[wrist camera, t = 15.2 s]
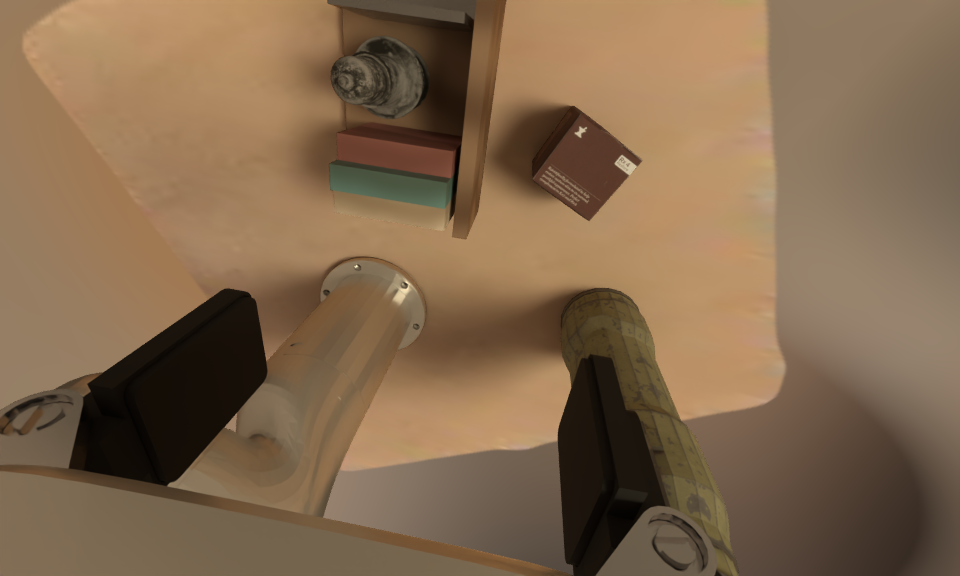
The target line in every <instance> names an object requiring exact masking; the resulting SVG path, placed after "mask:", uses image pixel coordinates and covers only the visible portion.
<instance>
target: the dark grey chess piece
mask: <svg viewBox="0 0 960 576" xmlns="http://www.w3.org/2000/svg"><path fill="white" fill-rule="evenodd" d="M331 82H332V86H333V88H334V90H335V92H336V93H337V95H338V96H339V97H340V98H341V99H342V100H344V101H345V102H347V103H349V104H353V105H362V106H364V107H365V108H366V109H367V110H368V111H369V112H371V113H372V114H374V115H376V116H377V117H381V118H384V119H397V118H401V117H404V116H405V115H407V114H408V113H410V112H411V111H412V110H413V109H415V108H416V107H418V106H419V105H420V104H421V103H422V102H423V101H424V99H425V97H426V95H427V93H428V89H429V83H430V82H429V72H428V69H427V66H426V63H425V62H424V60H423V58H422V57H421V55H420V54H419V53H418V52H417V51H416V50H414V49H413V48H411V47H410V46H408V45H406V44H404V43H403V42H401V41H399V40H398V39H396V38H392V37H389V36H375V37H373V38H370V39H368V40H366V41H365V42H364V43H363V44H361V45H360V46H359V48H358V49H357V51H356V52H355V54H353V55H352V56H345V57H342V58H340V59H339V60H337V61H336V62H335V64H334V65H333V67H332V70H331Z"/></svg>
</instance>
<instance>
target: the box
mask: <svg viewBox="0 0 960 576" xmlns="http://www.w3.org/2000/svg"><path fill="white" fill-rule="evenodd" d="M641 162H642V159H641V158H639V157H638V156H637V155H636V154H634V153H633V152H632V151H631V150H629V149H628V148H627V147H626V146H624V145H623V144H622V143H621V142H620V141H618V140H617V139H616V138H615V137H614V136H612V135H611V134H610V133H609V132H608V131H606V130H605V129H604V128H603V127H602V126H600V125H599V124H598V123H596V122H595V121H594V120H592V119H591V118H590V117H588V116H587V115H586V114H584V113H583V112H582V111H580V110H579V109H578V108H576V107H575V106H572V107H571V108H570V109H569V111H568V112H567V113H566V115H565V116H564V118H563V119H562V120H561V122H560V123H559V125H558V126H557V128H556V129H555V130H554V132H553V133H552V134H551V136H550V137H549V139H548V140H547V141H546V143H545V144H544V145H543V147H542V148H541V150H540V151H539V152H538V154H537V155H536V157H535V158H534V159H533V161H532V170H533V174H532V176H533V179H532V180H533V181H534V182H536V183H537V184H538V185H540V186H541V187H542V188H543V189H545V190H546V191H547V192H549V193H550V194H552V195H553V196H554V197H556V198H557V199H559V200H560V201H561V202H563V203H564V204H565V205H567V206H568V207H570V208H571V209H572V210H574V211H575V212H577V213H578V214H579V215H581V216H582V217H584V218H585V219H587V220H588V221H590V220H591V219H592V218H593V216H594V215H595V214H596V213H597V212H598V211H599V209H600V208H601V207H602V206H603V205H604V204H605V203H606V201H607V200H608V199H609V198H610V197H611V196H612V195H613V193H614V192H615V191H616V190H617V189H618V188H619V187H620V186H621V184H622V183H623V182H624V181H625V180H626V179H627V178H628V176H629V175H630V174H631V173H632V172H633V171H634V170H635V169H636V168H637V166H638V165H639V164H640V163H641Z"/></svg>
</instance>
